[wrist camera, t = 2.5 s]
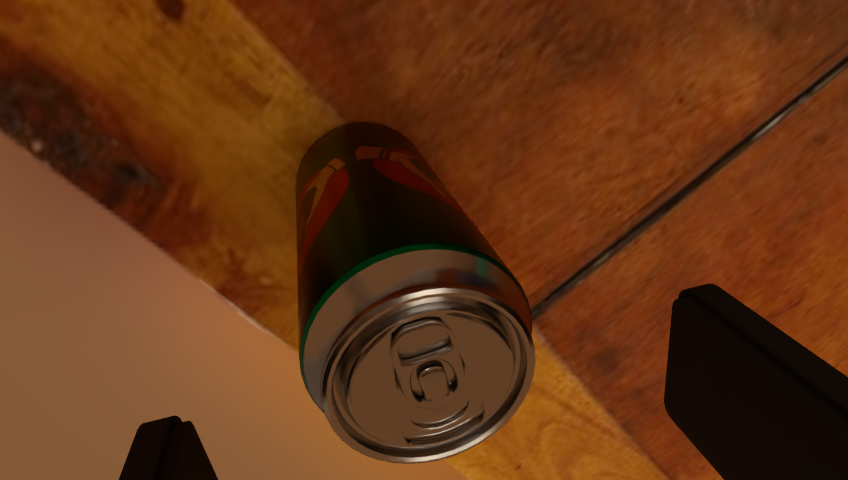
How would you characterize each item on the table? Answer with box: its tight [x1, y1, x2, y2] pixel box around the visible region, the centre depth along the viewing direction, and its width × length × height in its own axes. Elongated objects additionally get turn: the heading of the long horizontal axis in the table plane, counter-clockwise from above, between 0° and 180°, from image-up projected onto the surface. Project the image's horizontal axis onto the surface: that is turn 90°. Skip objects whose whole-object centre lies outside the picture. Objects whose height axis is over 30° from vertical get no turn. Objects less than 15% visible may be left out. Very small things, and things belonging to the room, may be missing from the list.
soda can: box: [296, 122, 535, 464], centre depth 16 cm, size 5×5×12 cm
